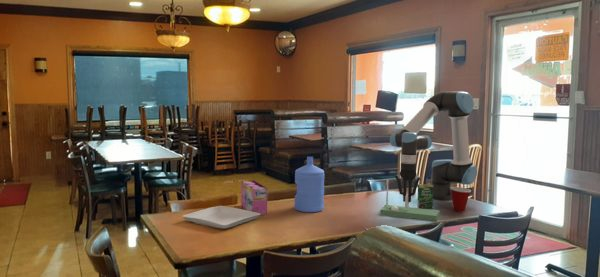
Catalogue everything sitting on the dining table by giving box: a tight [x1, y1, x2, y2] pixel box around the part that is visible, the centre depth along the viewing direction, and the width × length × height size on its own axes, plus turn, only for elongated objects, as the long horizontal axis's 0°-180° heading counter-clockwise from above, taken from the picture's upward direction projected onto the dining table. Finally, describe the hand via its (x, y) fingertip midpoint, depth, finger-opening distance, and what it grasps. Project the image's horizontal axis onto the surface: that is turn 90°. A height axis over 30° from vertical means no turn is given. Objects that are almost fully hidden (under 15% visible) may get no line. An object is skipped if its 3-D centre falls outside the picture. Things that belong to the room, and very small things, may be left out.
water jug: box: [293, 156, 325, 213], centre depth 250 cm, size 16×16×28 cm
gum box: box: [240, 180, 269, 216], centre depth 248 cm, size 24×8×14 cm, turn 23°
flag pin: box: [385, 179, 389, 206], centre depth 250 cm, size 4×1×14 cm, turn 158°
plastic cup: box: [450, 186, 472, 213], centre depth 254 cm, size 11×11×12 cm
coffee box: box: [416, 183, 434, 209], centre depth 258 cm, size 8×3×13 cm, turn 92°
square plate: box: [181, 205, 261, 230], centre depth 225 cm, size 27×27×4 cm
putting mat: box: [379, 204, 440, 222], centre depth 243 cm, size 12×28×2 cm, turn 68°
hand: (406, 208), depth 242 cm, fingers closed
